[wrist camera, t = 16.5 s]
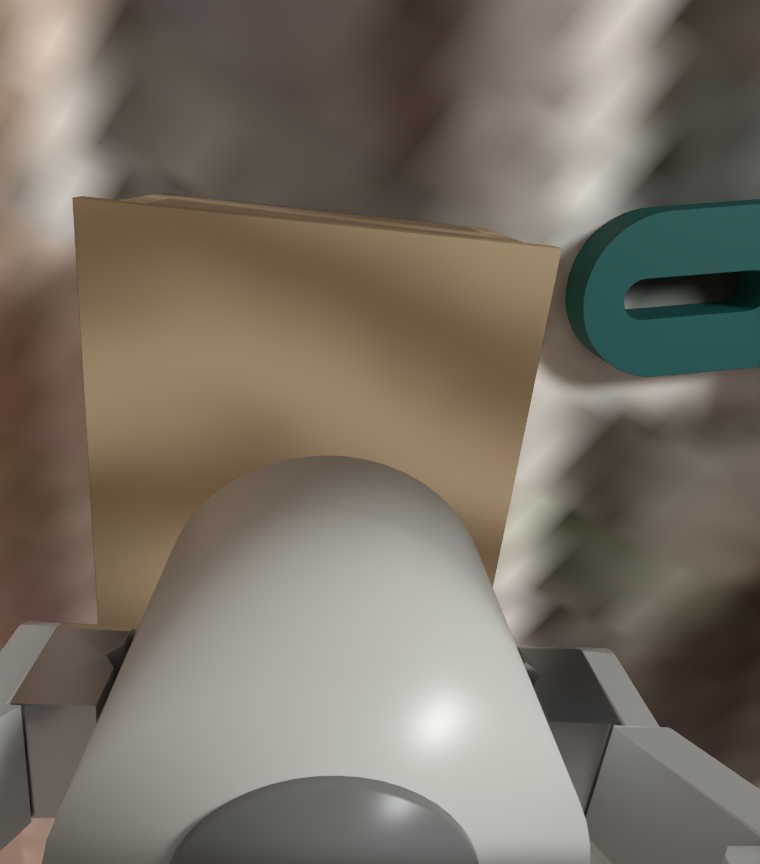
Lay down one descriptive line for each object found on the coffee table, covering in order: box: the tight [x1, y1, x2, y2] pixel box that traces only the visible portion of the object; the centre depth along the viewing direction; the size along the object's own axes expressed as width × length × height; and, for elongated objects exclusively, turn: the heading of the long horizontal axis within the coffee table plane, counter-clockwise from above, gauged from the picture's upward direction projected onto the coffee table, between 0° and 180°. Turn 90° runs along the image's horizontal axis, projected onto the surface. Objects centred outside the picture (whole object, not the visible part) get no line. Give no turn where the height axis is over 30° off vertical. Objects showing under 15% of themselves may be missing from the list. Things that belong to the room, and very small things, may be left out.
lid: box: [73, 196, 562, 631], centre depth 21 cm, size 18×13×1 cm
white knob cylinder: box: [42, 455, 590, 864], centre depth 9 cm, size 6×6×5 cm
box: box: [121, 193, 523, 243], centre depth 26 cm, size 18×13×8 cm
